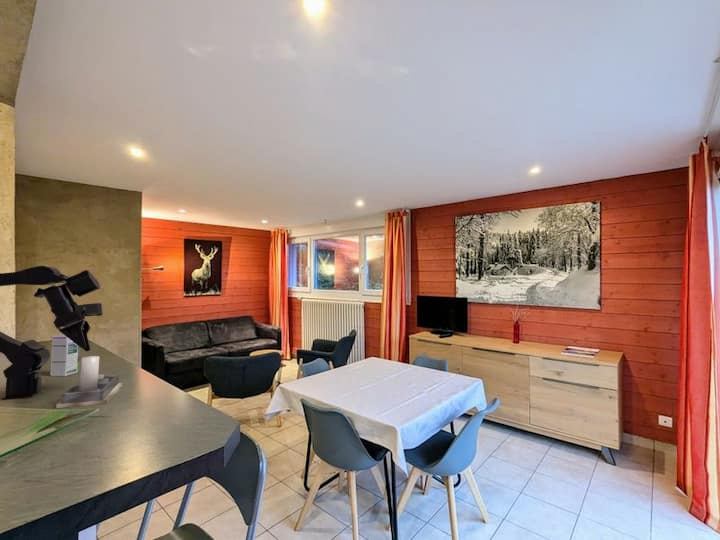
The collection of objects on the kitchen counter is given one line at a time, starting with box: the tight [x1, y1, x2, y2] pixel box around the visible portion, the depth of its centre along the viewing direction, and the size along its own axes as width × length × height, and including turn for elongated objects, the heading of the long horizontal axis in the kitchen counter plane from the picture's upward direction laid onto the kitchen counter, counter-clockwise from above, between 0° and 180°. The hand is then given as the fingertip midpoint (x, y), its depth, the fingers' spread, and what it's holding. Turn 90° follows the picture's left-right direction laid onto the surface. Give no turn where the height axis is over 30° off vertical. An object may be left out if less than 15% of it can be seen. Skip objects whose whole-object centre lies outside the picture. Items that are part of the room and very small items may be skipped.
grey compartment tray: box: [55, 373, 123, 409], centre depth 102 cm, size 11×18×5 cm, turn 24°
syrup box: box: [50, 333, 81, 377], centre depth 125 cm, size 6×6×14 cm
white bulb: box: [77, 355, 100, 392], centre depth 98 cm, size 6×6×11 cm
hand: (86, 349), depth 104 cm, fingers open, 9 cm apart
